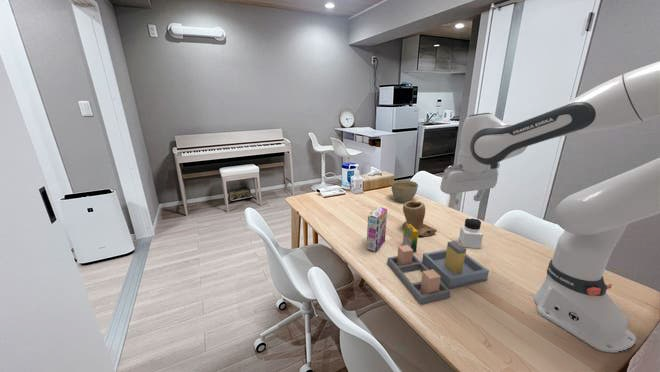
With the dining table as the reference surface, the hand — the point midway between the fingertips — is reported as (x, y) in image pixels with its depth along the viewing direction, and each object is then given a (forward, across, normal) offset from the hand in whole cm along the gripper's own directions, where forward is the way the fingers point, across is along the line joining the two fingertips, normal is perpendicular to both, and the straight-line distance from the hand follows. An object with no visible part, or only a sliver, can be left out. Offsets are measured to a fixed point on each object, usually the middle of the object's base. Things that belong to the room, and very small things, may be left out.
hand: (465, 202), depth 92 cm
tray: (+28, -1, 0) cm, 28 cm away
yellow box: (+27, -1, 0) cm, 27 cm away
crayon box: (+28, -8, +19) cm, 35 cm away
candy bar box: (+28, -21, +25) cm, 43 cm away
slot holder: (+28, -17, 0) cm, 33 cm away
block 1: (+28, -17, +8) cm, 34 cm away
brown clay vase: (+28, +3, +31) cm, 42 cm away
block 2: (+28, -17, -8) cm, 34 cm away
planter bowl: (+28, +18, +69) cm, 76 cm away
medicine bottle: (+28, +19, +14) cm, 36 cm away
